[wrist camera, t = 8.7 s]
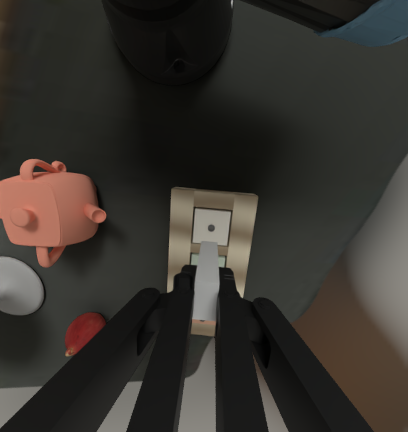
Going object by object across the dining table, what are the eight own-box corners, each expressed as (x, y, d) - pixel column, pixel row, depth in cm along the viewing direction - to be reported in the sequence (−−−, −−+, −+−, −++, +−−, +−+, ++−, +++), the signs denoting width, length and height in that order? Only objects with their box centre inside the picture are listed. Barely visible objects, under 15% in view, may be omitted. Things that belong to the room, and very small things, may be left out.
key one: (196, 205, 29) (194, 209, 26) (229, 208, 29) (231, 212, 26) (194, 235, 31) (192, 243, 27) (225, 238, 30) (226, 246, 27)
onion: (121, 316, 35) (95, 357, 28) (102, 333, 36) (72, 377, 29) (96, 296, 35) (62, 333, 27) (78, 314, 36) (41, 355, 28)
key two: (193, 247, 31) (191, 255, 28) (224, 249, 31) (225, 258, 28) (191, 274, 32) (189, 285, 29) (220, 277, 32) (221, 288, 29)
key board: (175, 186, 29) (171, 188, 26) (253, 193, 29) (258, 196, 26) (169, 317, 35) (165, 331, 32) (234, 324, 35) (236, 338, 32)
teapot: (130, 206, 30) (93, 223, 21) (81, 249, 32) (28, 282, 23) (76, 147, 28) (9, 137, 19) (28, 197, 31) (-53, 210, 21)
